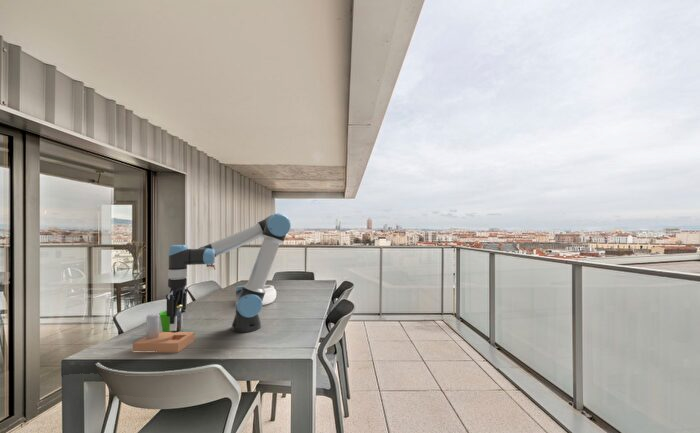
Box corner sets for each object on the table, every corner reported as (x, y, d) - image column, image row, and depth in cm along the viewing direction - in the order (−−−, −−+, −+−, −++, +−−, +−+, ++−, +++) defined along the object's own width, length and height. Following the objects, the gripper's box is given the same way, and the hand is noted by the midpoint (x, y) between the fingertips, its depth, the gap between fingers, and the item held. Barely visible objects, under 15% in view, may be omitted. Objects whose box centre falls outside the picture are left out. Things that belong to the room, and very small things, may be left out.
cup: (169, 337, 148) (170, 315, 149) (154, 336, 150) (154, 314, 150) (183, 331, 157) (183, 310, 157) (168, 330, 159) (168, 309, 159)
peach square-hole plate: (194, 340, 144) (195, 311, 145) (178, 352, 130) (178, 320, 131) (153, 340, 144) (154, 311, 145) (132, 352, 130) (133, 320, 131)
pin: (183, 329, 140) (184, 303, 141) (178, 332, 135) (178, 306, 136) (173, 329, 140) (174, 303, 141) (167, 332, 135) (168, 306, 136)
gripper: (179, 275, 147) (178, 322, 146) (157, 281, 130) (156, 335, 129) (195, 275, 147) (193, 322, 146) (174, 281, 130) (173, 335, 129)
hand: (176, 328), depth 138 cm, fingers closed on pin, 4 cm apart
